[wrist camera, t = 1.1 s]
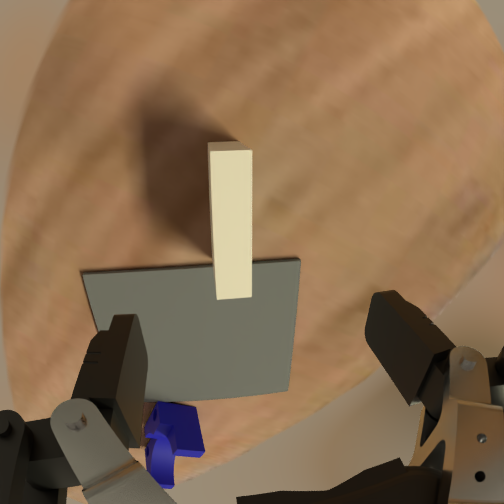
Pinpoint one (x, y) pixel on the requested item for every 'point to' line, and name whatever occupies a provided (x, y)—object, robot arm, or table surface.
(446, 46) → the table surface
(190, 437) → the blue u-shaped bracket
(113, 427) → the robot arm
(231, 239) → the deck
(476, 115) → the table surface
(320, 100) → the table surface
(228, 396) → the mat
